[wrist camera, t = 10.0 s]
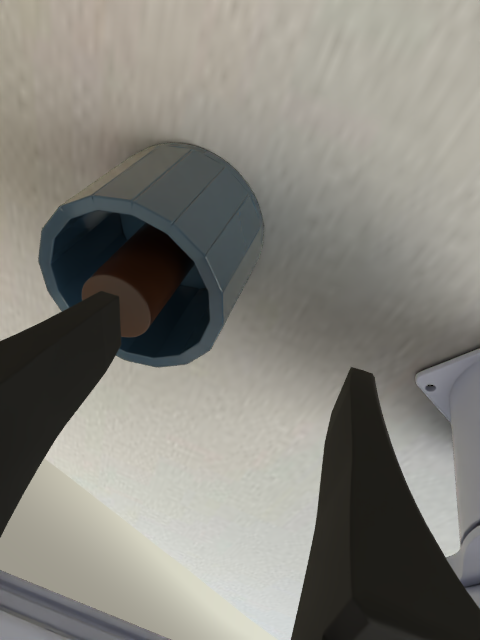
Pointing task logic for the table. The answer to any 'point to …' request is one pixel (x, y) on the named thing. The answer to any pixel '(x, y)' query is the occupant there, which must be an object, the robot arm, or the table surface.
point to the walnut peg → (141, 277)
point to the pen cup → (180, 225)
